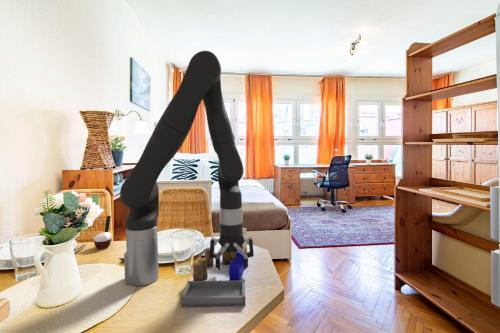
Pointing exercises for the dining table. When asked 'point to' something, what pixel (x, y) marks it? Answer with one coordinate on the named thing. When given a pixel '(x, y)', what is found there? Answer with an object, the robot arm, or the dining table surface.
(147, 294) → the dining table surface
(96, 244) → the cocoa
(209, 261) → the block
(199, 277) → the spacer
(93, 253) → the dining table surface
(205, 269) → the spacer
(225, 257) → the spacer
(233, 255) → the supplement box
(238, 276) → the cable clip
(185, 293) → the tray
